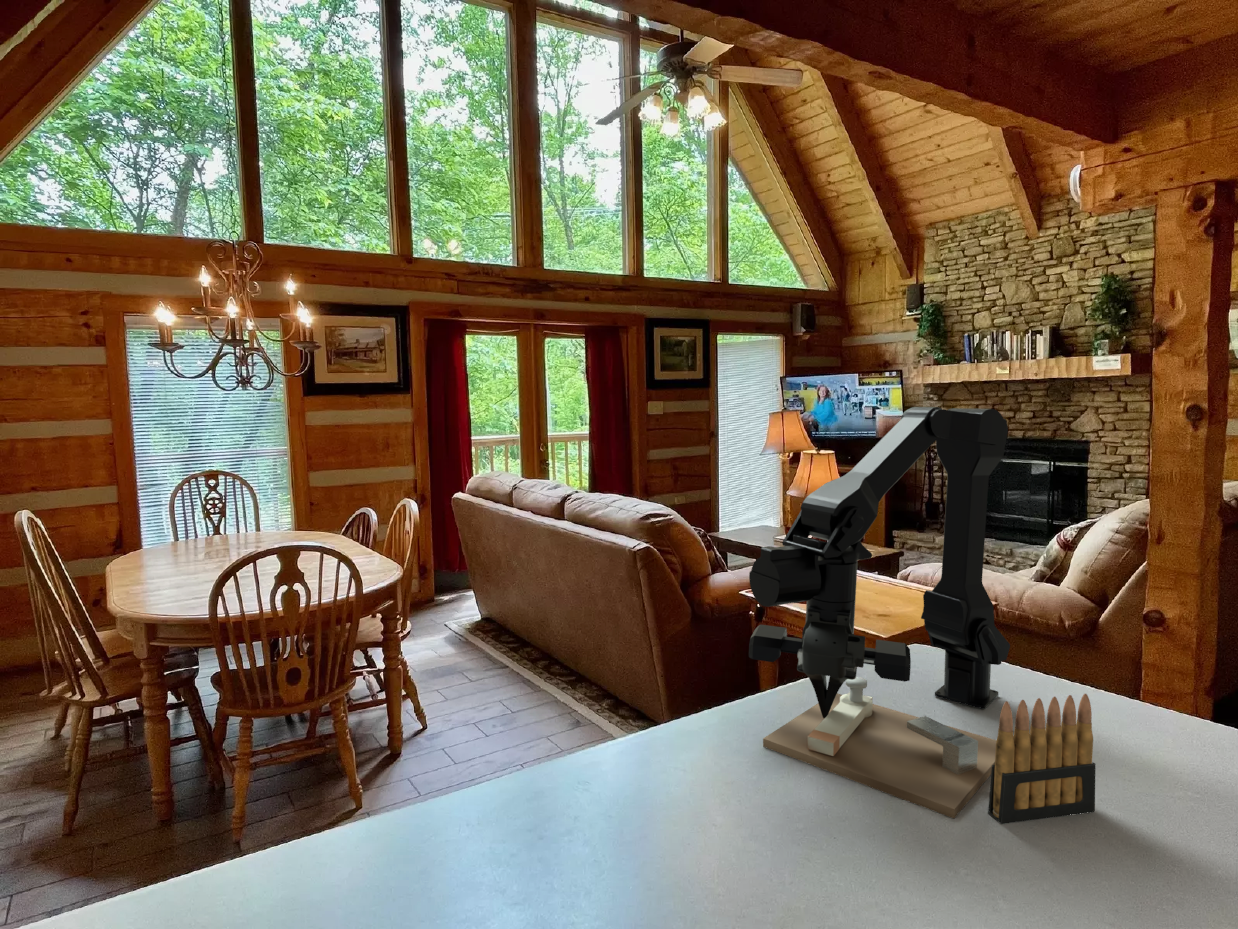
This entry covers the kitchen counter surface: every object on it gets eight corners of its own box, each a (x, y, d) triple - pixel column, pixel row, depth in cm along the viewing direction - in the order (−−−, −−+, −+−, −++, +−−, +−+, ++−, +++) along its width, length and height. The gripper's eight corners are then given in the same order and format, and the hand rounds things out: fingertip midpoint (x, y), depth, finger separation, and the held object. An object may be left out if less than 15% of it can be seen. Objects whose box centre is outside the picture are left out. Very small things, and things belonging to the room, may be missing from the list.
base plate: (834, 699, 100) (834, 692, 99) (1009, 752, 84) (1009, 744, 84) (763, 746, 87) (763, 738, 86) (954, 818, 71) (954, 809, 71)
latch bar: (845, 702, 96) (846, 672, 95) (876, 709, 94) (876, 678, 93) (803, 748, 84) (803, 713, 83) (837, 757, 81) (838, 722, 81)
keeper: (924, 741, 85) (925, 715, 85) (977, 768, 79) (978, 741, 79) (906, 746, 84) (906, 721, 84) (958, 774, 78) (959, 747, 77)
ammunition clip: (1080, 801, 74) (1086, 689, 73) (1095, 812, 72) (1101, 696, 71) (987, 813, 72) (991, 698, 71) (1000, 824, 70) (1004, 706, 69)
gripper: (742, 605, 84) (738, 733, 86) (915, 627, 77) (906, 764, 79) (758, 580, 94) (754, 695, 96) (912, 597, 88) (904, 719, 90)
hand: (825, 717), depth 90 cm, fingers closed
